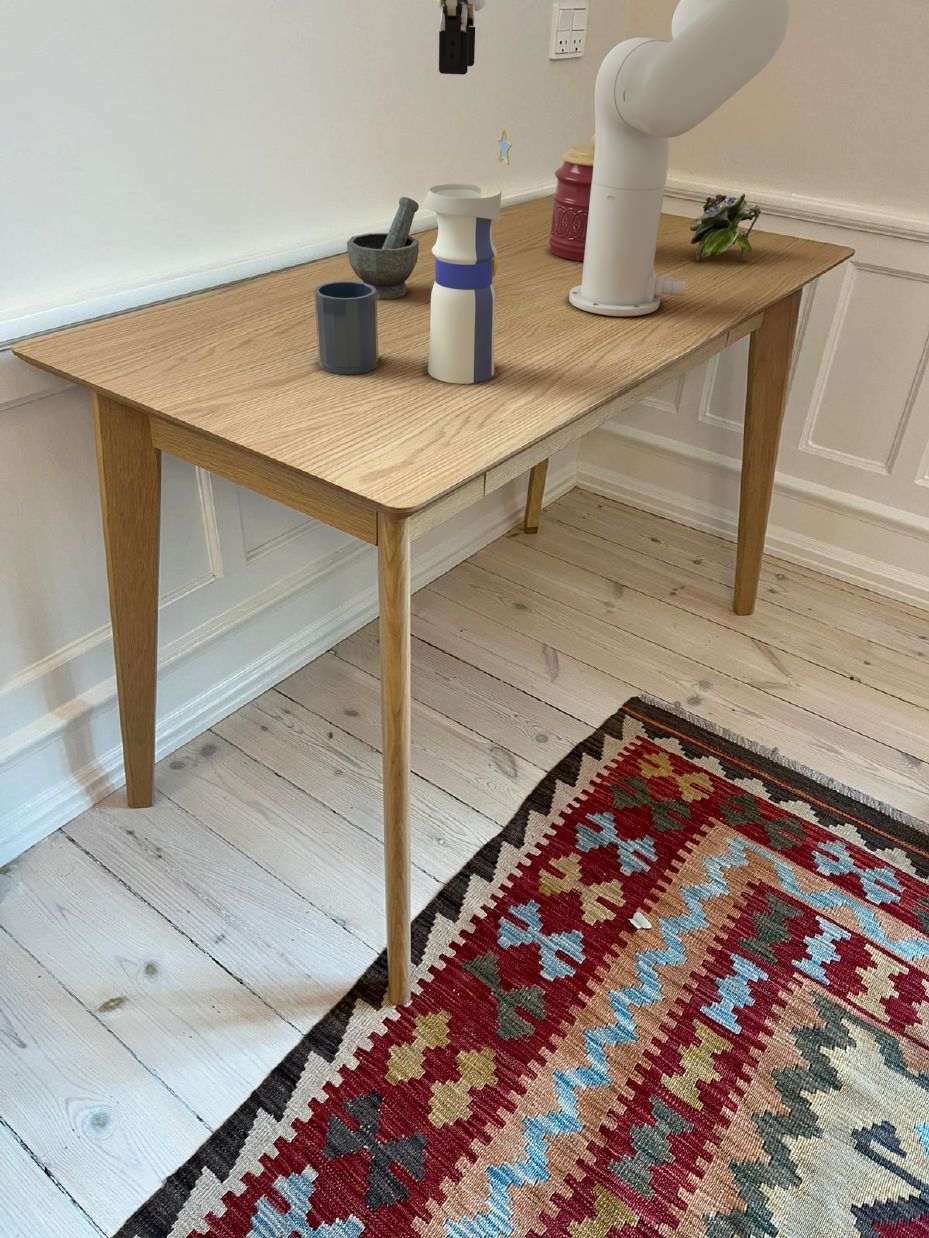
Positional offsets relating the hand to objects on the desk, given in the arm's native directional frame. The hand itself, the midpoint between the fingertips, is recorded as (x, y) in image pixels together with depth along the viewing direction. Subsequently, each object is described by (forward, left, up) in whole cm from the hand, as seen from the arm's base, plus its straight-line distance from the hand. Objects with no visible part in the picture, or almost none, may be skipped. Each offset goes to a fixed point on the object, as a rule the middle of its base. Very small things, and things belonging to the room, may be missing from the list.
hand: (457, 69), depth 108 cm
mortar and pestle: (+10, -8, -28) cm, 31 cm away
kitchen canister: (-19, -35, -28) cm, 49 cm away
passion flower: (-41, -37, -28) cm, 62 cm away
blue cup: (+10, +21, -28) cm, 37 cm away
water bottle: (-3, +21, -28) cm, 36 cm away
